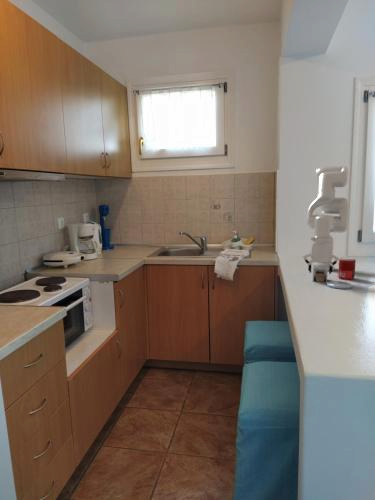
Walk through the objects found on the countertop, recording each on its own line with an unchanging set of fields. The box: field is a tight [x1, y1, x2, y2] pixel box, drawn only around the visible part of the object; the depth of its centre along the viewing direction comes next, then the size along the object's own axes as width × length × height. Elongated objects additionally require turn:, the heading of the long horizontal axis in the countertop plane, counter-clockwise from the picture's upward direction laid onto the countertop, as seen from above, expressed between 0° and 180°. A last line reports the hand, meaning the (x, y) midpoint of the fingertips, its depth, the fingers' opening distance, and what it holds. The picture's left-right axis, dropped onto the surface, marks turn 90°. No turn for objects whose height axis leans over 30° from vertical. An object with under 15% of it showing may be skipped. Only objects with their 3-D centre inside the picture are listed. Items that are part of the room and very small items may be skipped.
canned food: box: [337, 256, 357, 281], centre depth 194 cm, size 8×8×11 cm
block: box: [315, 272, 325, 282], centre depth 191 cm, size 4×4×4 cm
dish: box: [326, 280, 352, 290], centre depth 178 cm, size 11×11×1 cm
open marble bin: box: [312, 264, 329, 283], centre depth 190 cm, size 7×7×8 cm
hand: (320, 272), depth 190 cm, fingers open, 9 cm apart
